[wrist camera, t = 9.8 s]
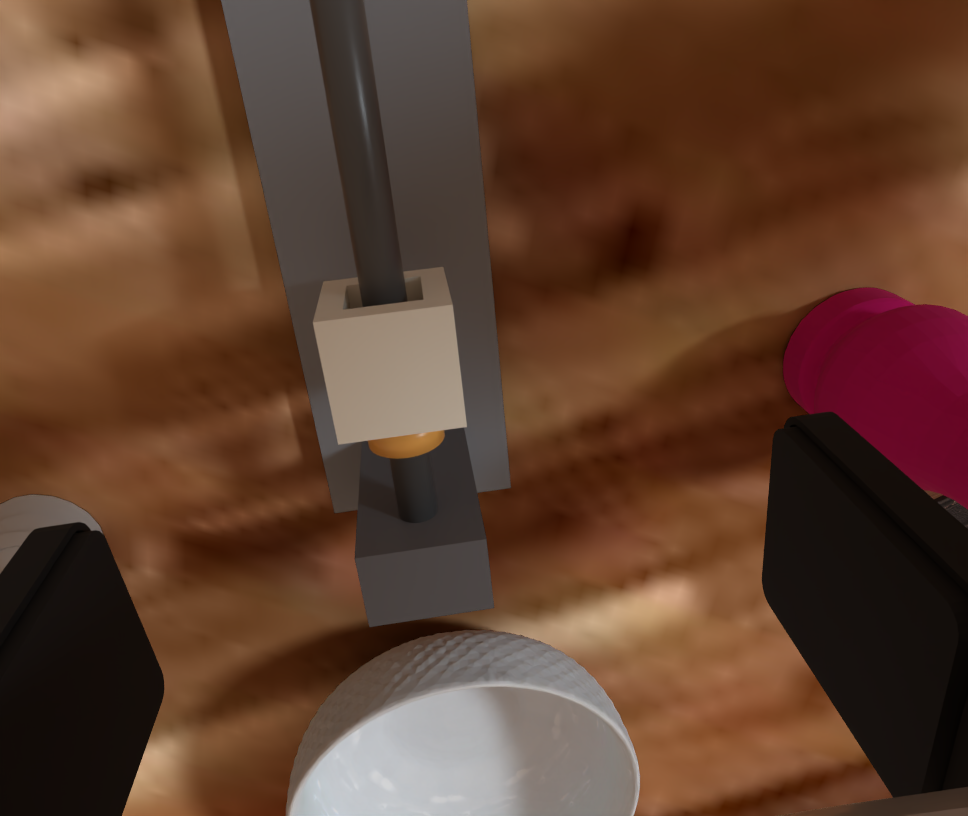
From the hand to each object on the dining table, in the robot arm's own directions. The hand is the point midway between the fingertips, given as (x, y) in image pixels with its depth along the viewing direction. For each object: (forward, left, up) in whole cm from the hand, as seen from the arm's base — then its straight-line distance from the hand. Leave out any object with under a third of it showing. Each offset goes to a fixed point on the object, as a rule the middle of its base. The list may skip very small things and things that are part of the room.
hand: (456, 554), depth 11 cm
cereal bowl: (+1, +26, -21) cm, 34 cm away
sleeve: (+1, +2, -16) cm, 16 cm away
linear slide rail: (+1, -2, -21) cm, 21 cm away
